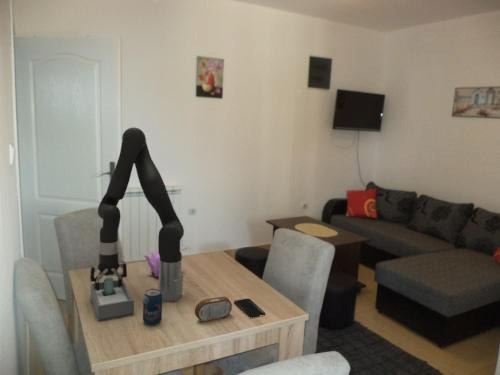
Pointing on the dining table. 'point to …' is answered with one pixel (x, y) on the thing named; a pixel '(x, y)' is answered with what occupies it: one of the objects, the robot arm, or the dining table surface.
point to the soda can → (152, 307)
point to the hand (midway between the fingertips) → (108, 288)
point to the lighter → (119, 263)
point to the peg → (108, 286)
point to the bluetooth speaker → (213, 309)
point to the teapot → (154, 262)
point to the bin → (112, 302)
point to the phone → (249, 307)
